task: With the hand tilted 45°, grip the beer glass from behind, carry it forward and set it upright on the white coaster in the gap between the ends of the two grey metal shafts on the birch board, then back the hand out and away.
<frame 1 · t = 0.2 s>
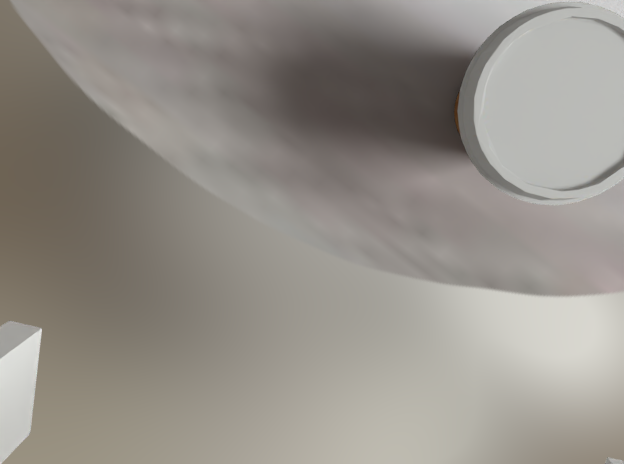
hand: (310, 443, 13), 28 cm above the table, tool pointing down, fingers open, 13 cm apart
disposable coffee cup: (501, 110, 38), on the table
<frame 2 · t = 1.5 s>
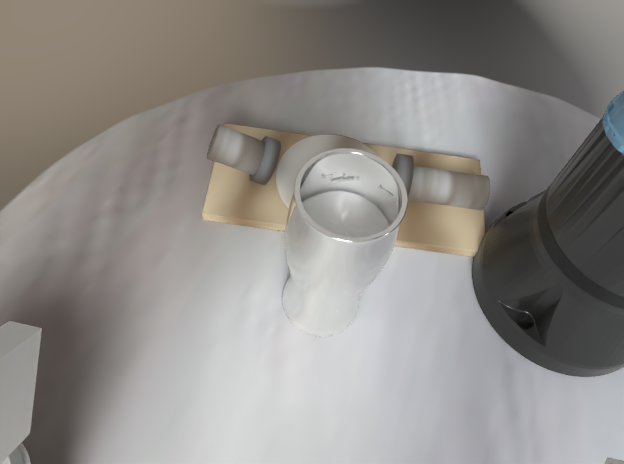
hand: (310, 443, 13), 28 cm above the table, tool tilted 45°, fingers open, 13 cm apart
shaft cradle: (331, 189, 51), on the table
beer glass: (320, 302, 45), on the table
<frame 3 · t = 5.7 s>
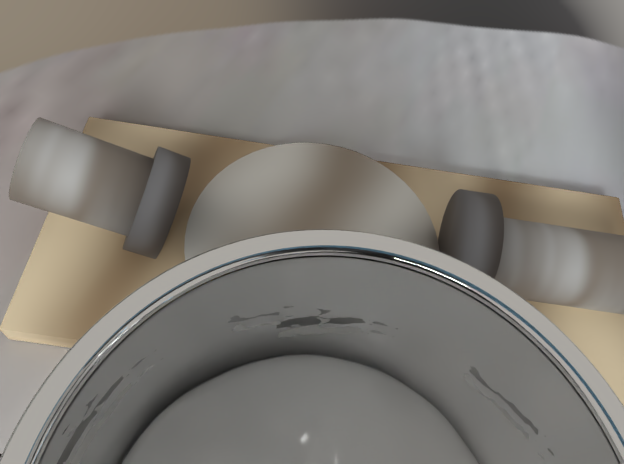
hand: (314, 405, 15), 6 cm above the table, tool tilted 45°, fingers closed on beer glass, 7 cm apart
shaft cradle: (310, 261, 24), on the table
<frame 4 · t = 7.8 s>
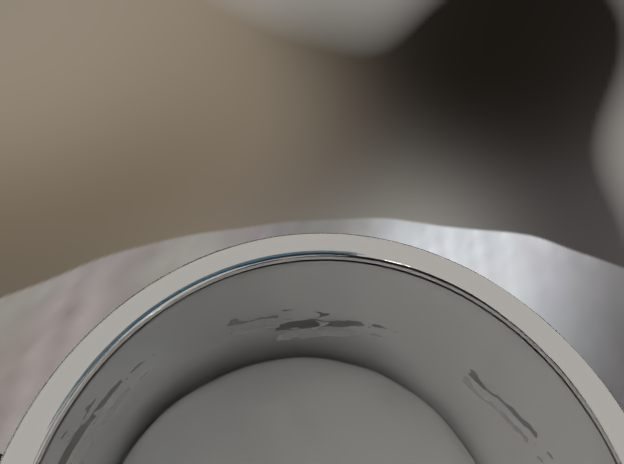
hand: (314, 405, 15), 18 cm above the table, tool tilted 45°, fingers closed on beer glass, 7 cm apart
when the fingers open (9 cm above the table, at t = 10.3 s): beer glass drops 1 cm, resting on shaft cradle.
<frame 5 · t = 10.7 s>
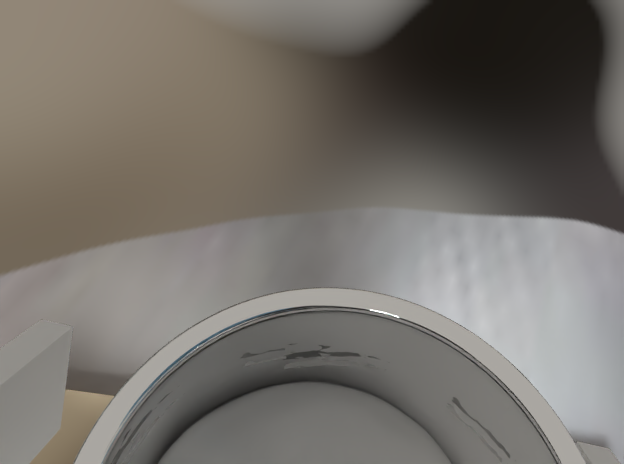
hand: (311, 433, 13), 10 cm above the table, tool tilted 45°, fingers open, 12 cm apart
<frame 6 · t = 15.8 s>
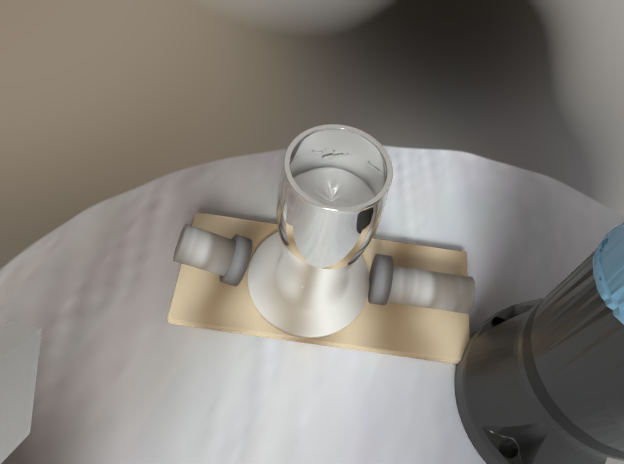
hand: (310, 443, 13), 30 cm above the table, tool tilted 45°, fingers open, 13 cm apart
shaft cradle: (307, 285, 48), on the table
beer glass: (312, 279, 47), point 1 cm above the table, touching shaft cradle
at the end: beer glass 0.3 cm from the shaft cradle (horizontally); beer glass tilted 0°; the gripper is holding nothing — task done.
